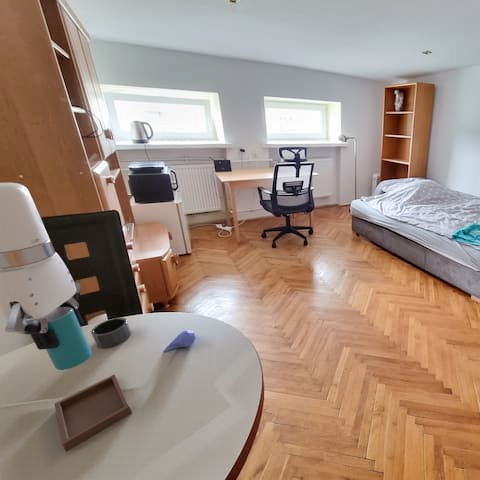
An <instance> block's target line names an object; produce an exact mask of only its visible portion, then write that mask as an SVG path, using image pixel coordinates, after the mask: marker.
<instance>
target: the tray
mask: <svg viewBox="0 0 480 480" xmlns="http://www.w3.org/2000/svg"><path fill="white" fill-rule="evenodd" d="M54 410H55V415H56V421H57V425H58V429H59V435H60V440H61V445H62V447H63V449H64V450H65V452H67V451H70V450H71V449H73V448H74V447H76V446H79V445H80V444H82V443H84V442H85V441H86V440H88V439H90V438H92V437H94V436H95V435H97V434H99V433H100V432H102V431H104V430H106V429H107V428H109V427H111V426H113V425H114V424H116V423H118V422H119V421H121V420H123V419H125V418H127V417H128V416H130V415H131V414H133V411H132V409H131V406H130V404H129V402H128V399H127V398H126V396H125V393H124V391H123V389H122V387H121V384H120V382H119V380H118V378H117V375H116V374H112V375H110V376H108V377H105V378H104V379H102V380H100V381H98V382H95V383H94V384H92V385H89V386H88V387H85V388H83V389H81V390H79V391H77V392H75V393H73V394H71V395H69V396H66V397H65V398H63V399H61V400H58V401H57V402H54Z"/></svg>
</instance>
